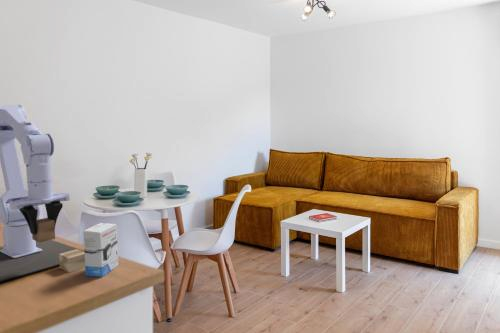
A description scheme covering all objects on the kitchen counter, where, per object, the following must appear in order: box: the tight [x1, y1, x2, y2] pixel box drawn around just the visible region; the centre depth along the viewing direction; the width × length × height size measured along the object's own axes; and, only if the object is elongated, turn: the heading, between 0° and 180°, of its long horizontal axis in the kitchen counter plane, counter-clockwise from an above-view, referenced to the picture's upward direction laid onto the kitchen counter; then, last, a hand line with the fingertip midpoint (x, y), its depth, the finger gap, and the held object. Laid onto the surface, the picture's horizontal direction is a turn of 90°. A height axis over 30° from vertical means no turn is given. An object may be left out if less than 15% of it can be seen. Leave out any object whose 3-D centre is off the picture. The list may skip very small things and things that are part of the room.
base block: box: [58, 248, 85, 273], centre depth 107 cm, size 5×5×4 cm
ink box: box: [83, 222, 119, 278], centre depth 105 cm, size 8×5×12 cm, turn 168°
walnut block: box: [32, 217, 56, 243], centre depth 105 cm, size 4×4×5 cm
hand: (42, 231), depth 106 cm, fingers closed on walnut block, 4 cm apart
